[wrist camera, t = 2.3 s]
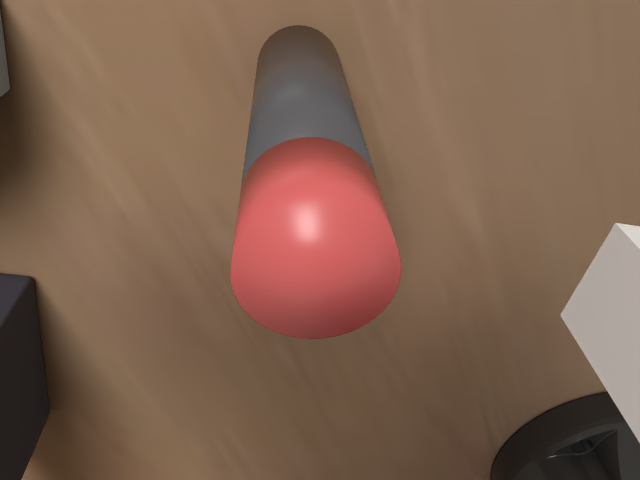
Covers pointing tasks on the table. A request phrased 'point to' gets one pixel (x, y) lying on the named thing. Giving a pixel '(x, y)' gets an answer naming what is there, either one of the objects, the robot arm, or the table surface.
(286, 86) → the marker
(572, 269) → the table surface
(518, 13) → the table surface
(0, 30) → the pen cup
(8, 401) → the grey and red block
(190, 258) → the table surface
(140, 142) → the table surface
